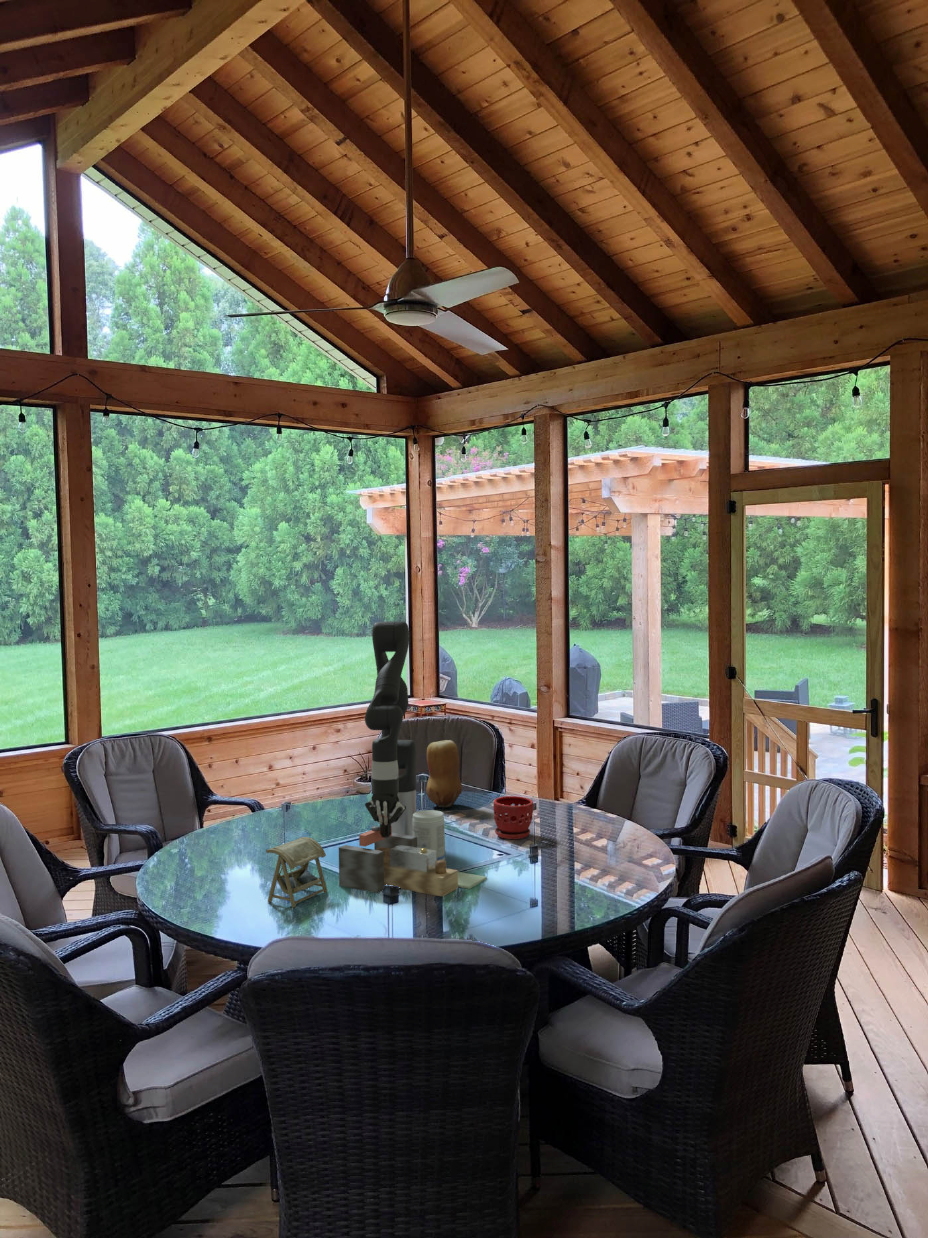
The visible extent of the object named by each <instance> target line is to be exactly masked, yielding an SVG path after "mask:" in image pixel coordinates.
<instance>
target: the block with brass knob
mask: <svg viewBox="0 0 928 1238" xmlns="http://www.w3.org/2000/svg"><path fill="white" fill-rule="evenodd" d="M435 861H436V850H429V849H427V848H417V847H410V846H404V845H399V846H396V847H394V848H392V849H390V867H393V868H398V869H404V870H410V871H416V872H422V873H428V872H430V871H432V870H434V869H435Z"/></svg>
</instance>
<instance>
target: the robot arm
mask: <svg viewBox="0 0 928 1238" xmlns="http://www.w3.org/2000/svg"><path fill="white" fill-rule="evenodd" d="M371 639H372V646H373V653H374V658H375V659H374V660H375V665H376V674H377V675H376V679H375V684H374V694H373V696H372V698H371V701H370V703H369V704H368V706H367V709H366V711H365V714H364V722H365V726H366V728H368V729H369V730H371V731H381V737H379V738H376V739H374V740H373V741H372V743H371V755H372V757H371V761H372V762H371V792H372V796H371V799H370V800H369V801H367V802H365V804H364V806H365V808H366V810H367V812H368V814H370V816H371V818H372V819H373V821H374V822H378V824H379V827H380V834H381V837H383V838H388V837H389V836H390V835H391V825H392V833H397V834H403V835H410V836H413V814H414V813H415V812H417V778H416V777H417V773H416V772H417V744H416V742H415V741H414V740H413V739H399V735H400V732H401V727H402V724H403V720H404V716H405V715H406V713H407V711H408V709H409V694H408V693H409V691H408V685H407V683H406V682H405V680H404V679H403V677H402V674H403V673H402V672H403V670H404V666H405V663H406V658H407V654H408V650H409V645H410V628H409V625H408V623H407V622H405V621H401V620H400V621H399V620H398V621H392V620H390V621H376V622H375V623H374V624H373V625H372V630H371ZM387 653H394V654H393V656H392V657H391V658H390V659H389V657H388V655H387ZM399 769H401V770H405V772H404V773H403V774H401V775H399Z"/></svg>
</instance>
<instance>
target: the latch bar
mask: <svg viewBox="0 0 928 1238" xmlns="http://www.w3.org/2000/svg"><path fill="white" fill-rule="evenodd" d="M390 836H392V825H391V835H390ZM390 836H389V837H390ZM358 839H359V840H358V841H359V844H358V845H359V846H360V847H364V848H366V847H368V846H370V845H372V844H373V845H374V843H375V842H378V841H380V840H382V839H385V838H383V837H381V834H380V825H379V826H377V825H375V826H374V825H373V826H371V830H368V831H365V832H364V833H360V834H359V836H358Z"/></svg>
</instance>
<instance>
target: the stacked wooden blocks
mask: <svg viewBox="0 0 928 1238" xmlns="http://www.w3.org/2000/svg"><path fill="white" fill-rule="evenodd" d="M373 845H374V849H373V848H366V847H361V846H360V847H358V846H354V845H348V844H344V845H342V846H339V847H338V886H339V887H343V888H349V889H354V890H359V891H364V892H365V891H366V892H369V893H375V894H378V893H381V892H382V890H383V889H384V890H385V886H384V885H386V884H387V885H393V886H398V887H400V888H401V889H400V890H404V891H405V890H406V891H411V892H416V893H420V894H428V895H432V896H437V897H445V896H447V895H448V894H450V893H452V892H454V891H456V890H457V889H459V887H458V872H459V870H458V869H453V868H447V861H446V859H445V860H437V861H435V869H434V870H432V871H430V872H428V873H422V872H416V871H410V870H404V869H398V868H393V867H390V849H392V848H394V847H396V846H399V845H404V846H410V847H417V836H410V835H403V834H397V833H392V836H390V837H388V838H385V839H382V840H380V841H378V842H375V843H373ZM384 890H383V891H384Z"/></svg>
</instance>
